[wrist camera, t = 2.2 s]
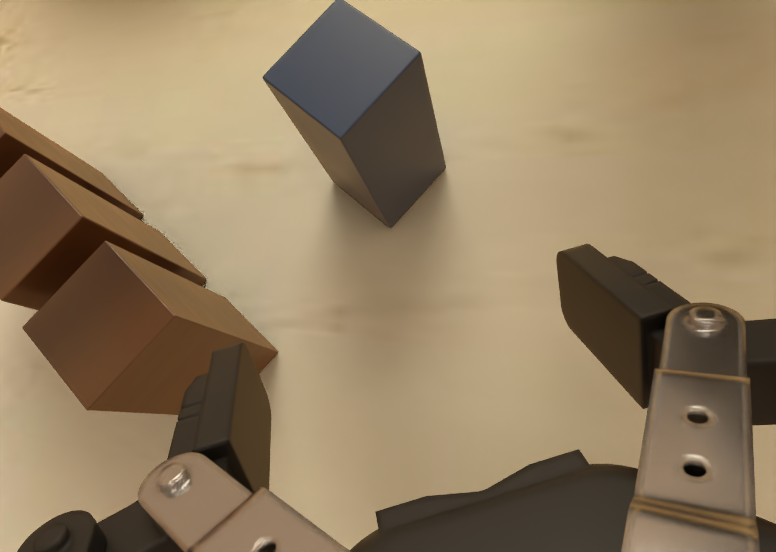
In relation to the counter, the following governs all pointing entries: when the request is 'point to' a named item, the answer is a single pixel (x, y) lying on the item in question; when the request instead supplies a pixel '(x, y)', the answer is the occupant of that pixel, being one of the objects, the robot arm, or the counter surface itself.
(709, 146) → the counter surface
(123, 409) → the line block
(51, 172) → the line block
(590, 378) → the counter surface
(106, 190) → the line block
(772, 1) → the counter surface
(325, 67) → the block
